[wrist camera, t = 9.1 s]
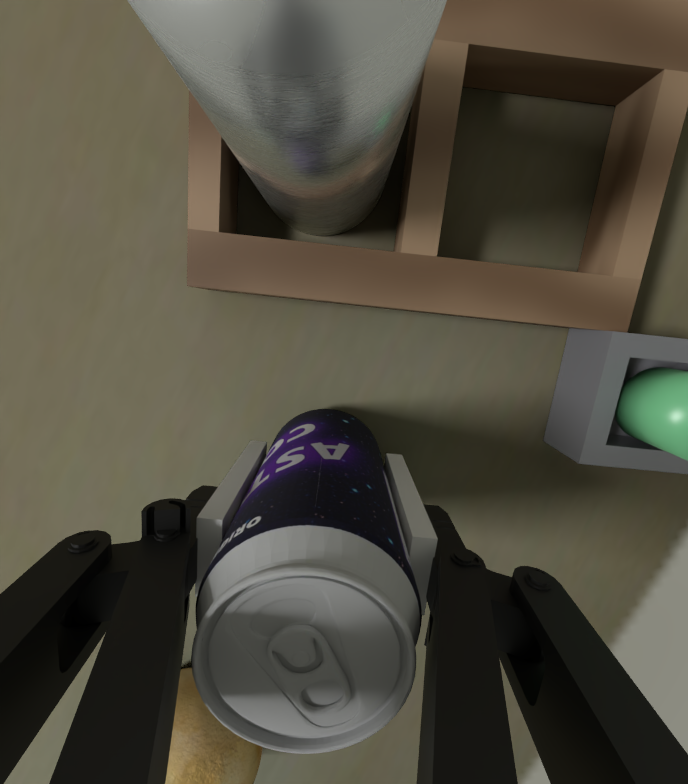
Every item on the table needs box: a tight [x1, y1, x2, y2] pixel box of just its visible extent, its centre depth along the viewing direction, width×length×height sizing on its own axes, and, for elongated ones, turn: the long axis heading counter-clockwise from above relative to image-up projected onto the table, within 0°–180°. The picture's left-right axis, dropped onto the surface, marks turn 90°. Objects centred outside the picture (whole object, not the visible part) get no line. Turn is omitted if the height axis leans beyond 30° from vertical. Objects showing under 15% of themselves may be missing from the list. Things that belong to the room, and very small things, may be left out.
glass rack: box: [187, 0, 688, 333], centre depth 15 cm, size 12×19×2 cm, turn 84°
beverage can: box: [191, 409, 422, 754], centre depth 14 cm, size 6×6×12 cm
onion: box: [165, 667, 262, 784], centre depth 20 cm, size 8×8×7 cm
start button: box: [615, 367, 688, 461], centre depth 15 cm, size 3×3×3 cm
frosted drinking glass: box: [128, 0, 447, 236], centre depth 11 cm, size 6×6×12 cm
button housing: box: [543, 328, 688, 474], centre depth 17 cm, size 6×6×3 cm
